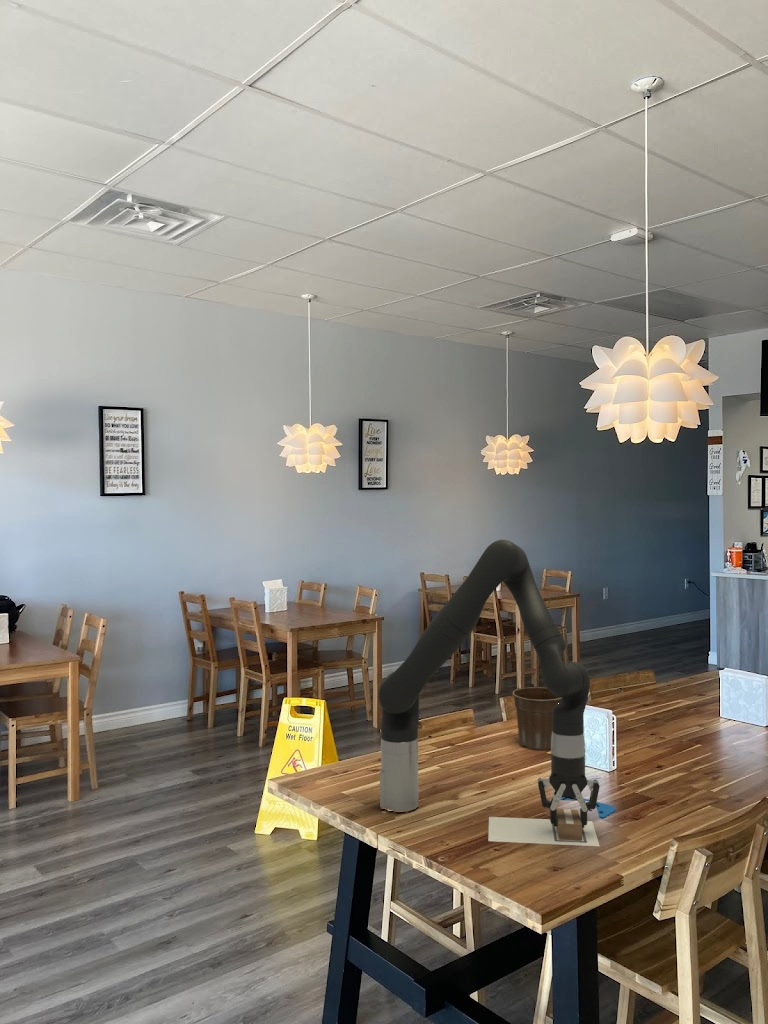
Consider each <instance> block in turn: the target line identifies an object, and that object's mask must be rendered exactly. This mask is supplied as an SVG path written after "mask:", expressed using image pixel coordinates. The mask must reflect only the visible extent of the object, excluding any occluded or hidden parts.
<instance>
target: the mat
mask: <svg viewBox="0 0 768 1024" xmlns="http://www.w3.org/2000/svg"><path fill="white" fill-rule="evenodd" d="M487 839H488V840H487V841H488V842H493V843H495V842H496V843H497V842H498V843H499V842H500V843H518V844H538V845H557V846H559V845H560V846H561V845H563V846H565V845H566V846H582V847H600V844H599V839H598V836H597V833H596V830H595V827H594V822H593V820H587V825H584V828H582V841H577V840H559V837H558V832H557V827H554V826H553V824H551V822H550V818H546V819H545V818H525V817H524V818H523V817H522V818H521V817H500V816H489V817H488V838H487Z"/></svg>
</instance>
